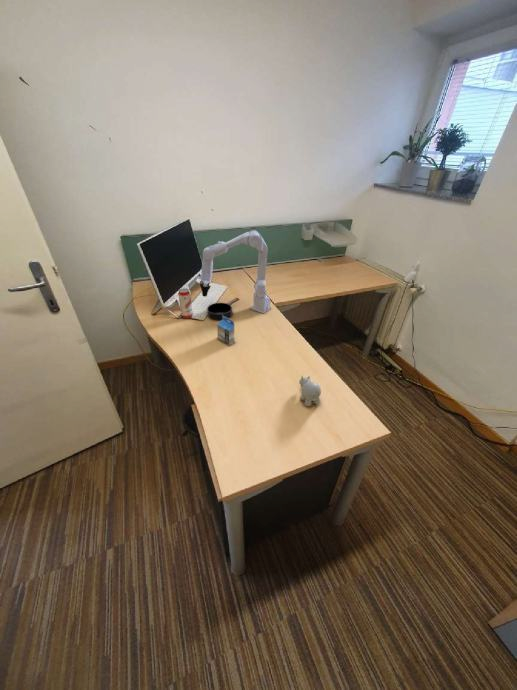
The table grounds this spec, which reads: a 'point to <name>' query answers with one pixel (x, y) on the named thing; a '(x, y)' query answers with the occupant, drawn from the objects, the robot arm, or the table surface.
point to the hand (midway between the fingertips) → (204, 293)
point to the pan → (220, 310)
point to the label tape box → (226, 330)
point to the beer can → (185, 303)
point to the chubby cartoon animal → (309, 391)
